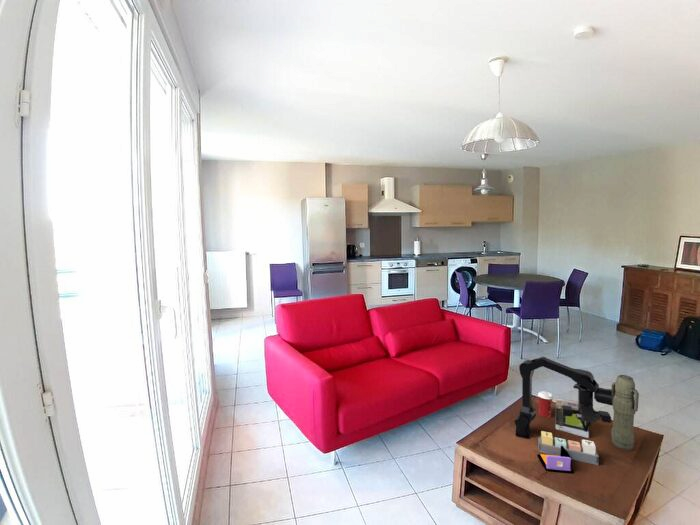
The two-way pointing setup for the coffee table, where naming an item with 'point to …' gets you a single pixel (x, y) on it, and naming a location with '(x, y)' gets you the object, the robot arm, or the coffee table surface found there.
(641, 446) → the coffee table surface
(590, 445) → the key
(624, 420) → the green thermos flask
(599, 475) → the coffee table surface
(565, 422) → the tea box
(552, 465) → the business card holder
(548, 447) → the keypad
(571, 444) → the key with dash symbol
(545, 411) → the paper cup
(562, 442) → the key with caret symbol
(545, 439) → the key
